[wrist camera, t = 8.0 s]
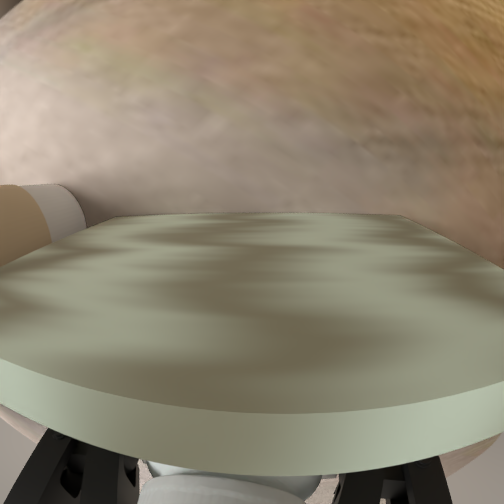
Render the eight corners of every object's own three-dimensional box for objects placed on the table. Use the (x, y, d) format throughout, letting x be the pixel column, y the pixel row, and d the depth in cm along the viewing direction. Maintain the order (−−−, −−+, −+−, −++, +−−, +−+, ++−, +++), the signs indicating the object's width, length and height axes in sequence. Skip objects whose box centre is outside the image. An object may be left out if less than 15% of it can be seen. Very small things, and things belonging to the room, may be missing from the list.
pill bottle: (330, 326, 15) (379, 538, 4) (276, 402, 17) (266, 575, 6) (220, 278, 15) (120, 491, 4) (181, 364, 16) (106, 534, 6)
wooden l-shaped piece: (146, 376, 21) (65, 524, 7) (116, 216, 17) (-83, 313, 4) (371, 383, 19) (421, 552, 6) (400, 215, 16) (600, 337, 2)
